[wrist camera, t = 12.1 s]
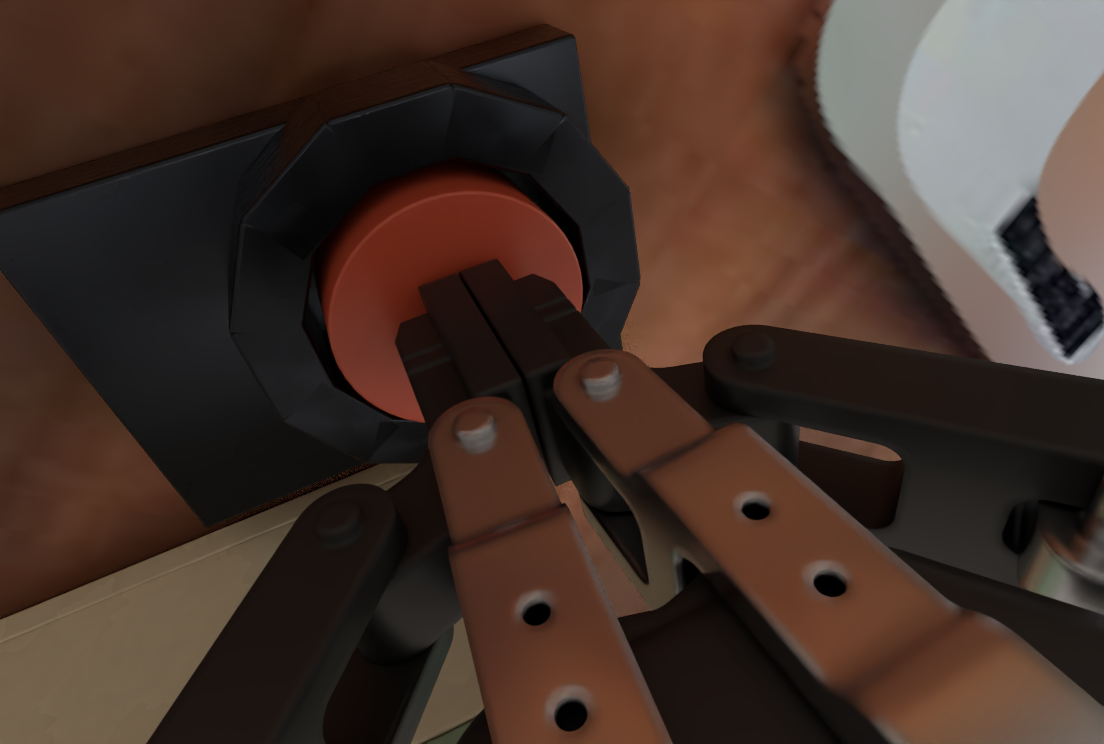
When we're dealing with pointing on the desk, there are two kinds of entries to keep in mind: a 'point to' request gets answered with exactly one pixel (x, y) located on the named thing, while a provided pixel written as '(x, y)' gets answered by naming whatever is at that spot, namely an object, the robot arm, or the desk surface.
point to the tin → (167, 638)
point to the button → (425, 264)
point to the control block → (292, 258)
